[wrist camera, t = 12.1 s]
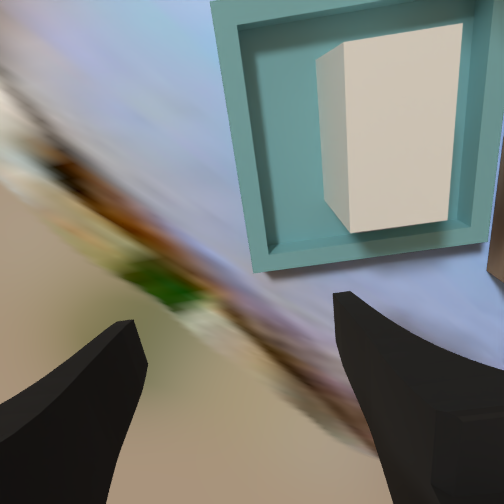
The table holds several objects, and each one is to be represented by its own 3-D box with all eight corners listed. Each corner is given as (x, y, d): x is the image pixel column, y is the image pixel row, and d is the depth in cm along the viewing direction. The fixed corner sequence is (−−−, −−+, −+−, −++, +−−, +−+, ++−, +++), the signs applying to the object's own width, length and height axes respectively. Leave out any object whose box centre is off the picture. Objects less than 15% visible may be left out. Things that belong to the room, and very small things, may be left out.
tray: (466, 229, 21) (487, 241, 19) (252, 258, 22) (253, 273, 20) (492, -36, 16) (524, -53, 14) (214, 12, 17) (209, 1, 15)
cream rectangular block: (395, 202, 20) (446, 235, 15) (325, 211, 20) (350, 248, 15) (398, 46, 17) (463, 23, 12) (315, 59, 17) (343, 42, 12)
